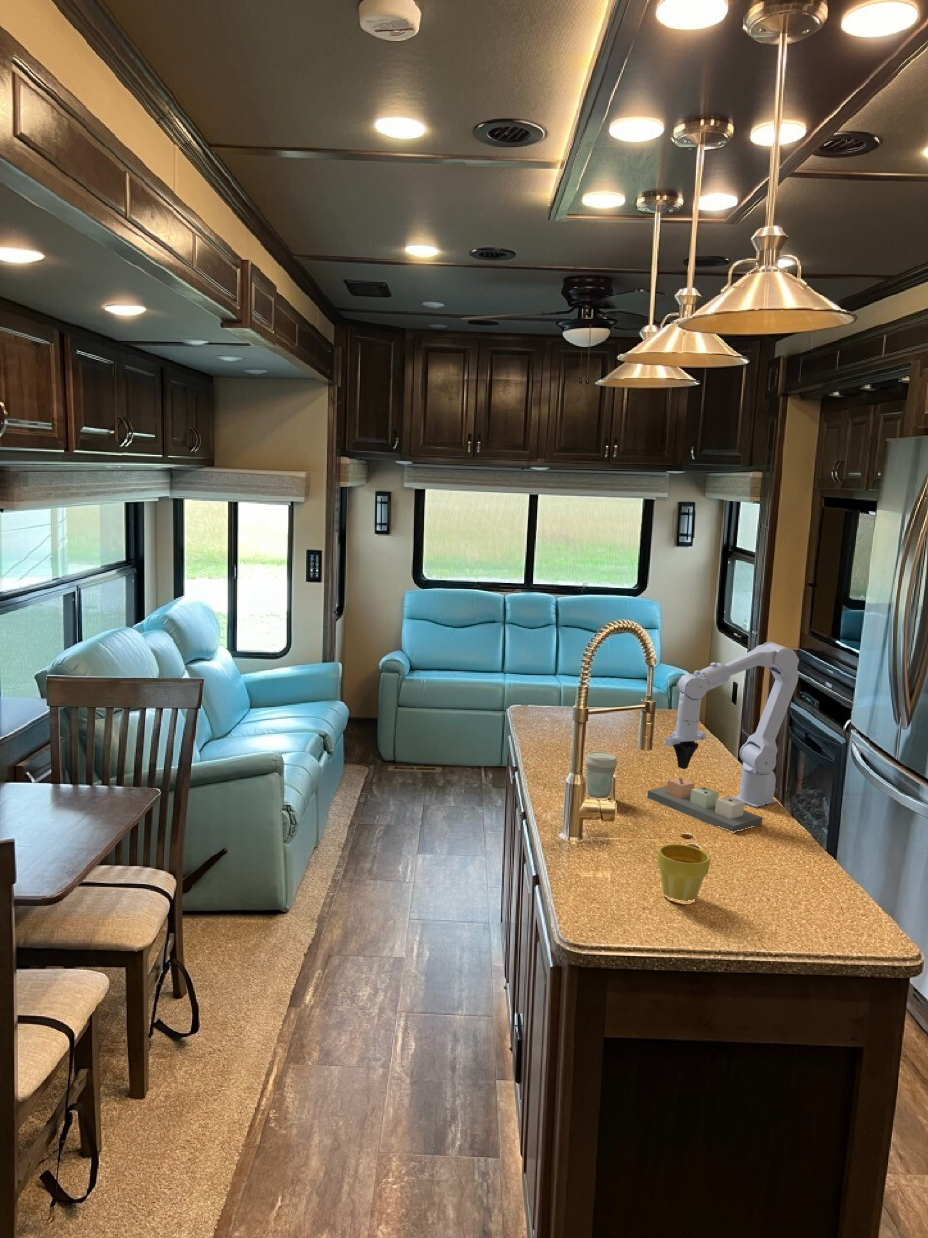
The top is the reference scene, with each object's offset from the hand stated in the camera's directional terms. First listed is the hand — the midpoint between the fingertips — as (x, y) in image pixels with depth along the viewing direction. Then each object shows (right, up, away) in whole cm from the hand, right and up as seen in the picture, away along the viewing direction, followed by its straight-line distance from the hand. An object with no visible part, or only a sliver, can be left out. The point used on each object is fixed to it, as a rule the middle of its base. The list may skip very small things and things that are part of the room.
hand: (682, 767), depth 244 cm
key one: (+9, -10, -11) cm, 18 cm away
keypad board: (+4, -11, -5) cm, 12 cm away
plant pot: (-14, -18, -56) cm, 60 cm away
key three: (0, -8, +1) cm, 8 cm away
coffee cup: (-23, -8, -1) cm, 24 cm away
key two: (+4, -9, -5) cm, 11 cm away
